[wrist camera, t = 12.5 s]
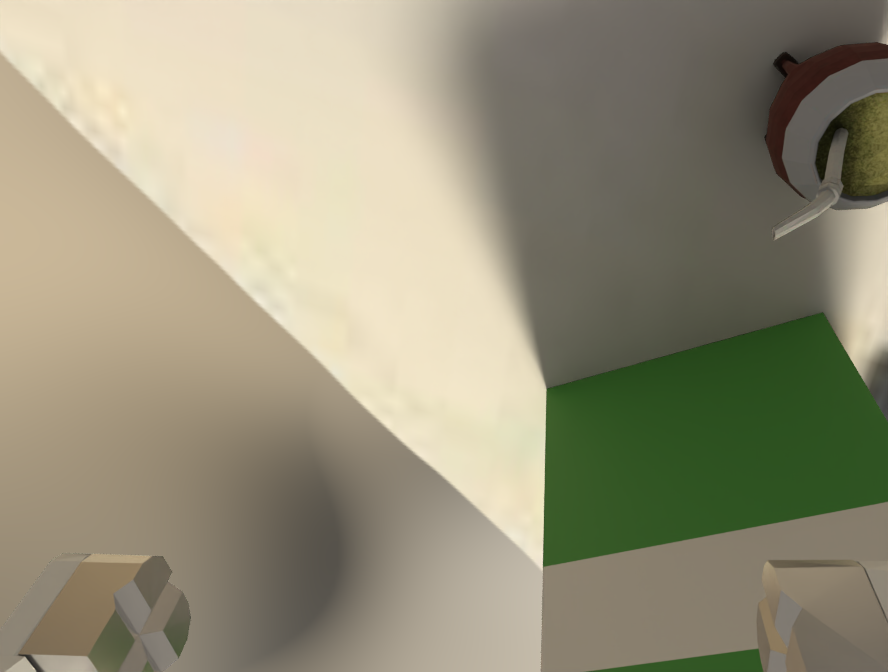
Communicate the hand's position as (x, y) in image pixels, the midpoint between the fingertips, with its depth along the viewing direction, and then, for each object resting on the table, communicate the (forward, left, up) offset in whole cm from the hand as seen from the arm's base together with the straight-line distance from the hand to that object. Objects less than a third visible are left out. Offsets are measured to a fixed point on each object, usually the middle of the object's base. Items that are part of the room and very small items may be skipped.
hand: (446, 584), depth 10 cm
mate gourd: (-14, +4, -33) cm, 36 cm away
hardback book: (-9, +23, -33) cm, 42 cm away
